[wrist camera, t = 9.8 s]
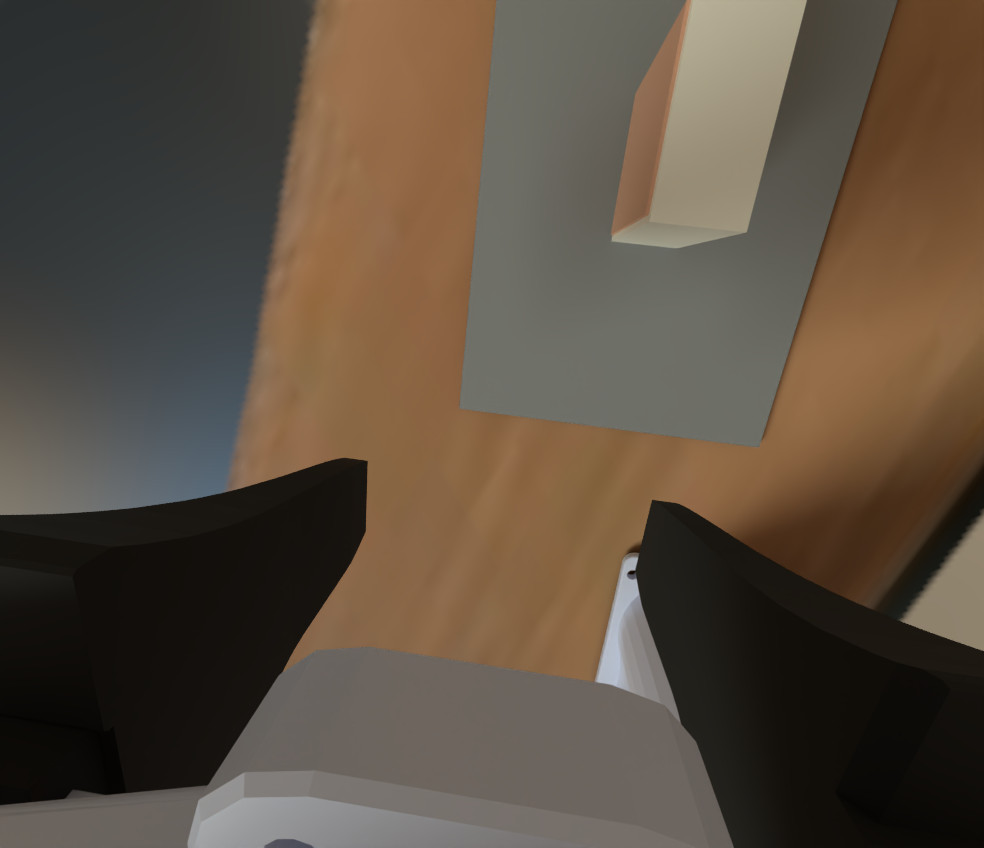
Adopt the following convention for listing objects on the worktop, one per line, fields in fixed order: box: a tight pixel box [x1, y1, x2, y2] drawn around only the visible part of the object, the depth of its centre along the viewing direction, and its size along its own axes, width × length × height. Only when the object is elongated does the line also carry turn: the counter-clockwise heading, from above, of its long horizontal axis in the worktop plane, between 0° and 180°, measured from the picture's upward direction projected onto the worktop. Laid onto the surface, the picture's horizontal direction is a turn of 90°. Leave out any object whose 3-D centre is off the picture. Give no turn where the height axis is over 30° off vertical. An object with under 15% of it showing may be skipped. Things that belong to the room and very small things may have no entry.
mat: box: [459, 0, 898, 447], centre depth 17 cm, size 18×13×1 cm
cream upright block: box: [611, 0, 807, 248], centre depth 14 cm, size 3×5×6 cm, turn 174°
